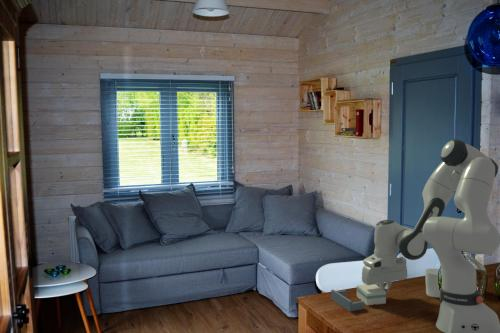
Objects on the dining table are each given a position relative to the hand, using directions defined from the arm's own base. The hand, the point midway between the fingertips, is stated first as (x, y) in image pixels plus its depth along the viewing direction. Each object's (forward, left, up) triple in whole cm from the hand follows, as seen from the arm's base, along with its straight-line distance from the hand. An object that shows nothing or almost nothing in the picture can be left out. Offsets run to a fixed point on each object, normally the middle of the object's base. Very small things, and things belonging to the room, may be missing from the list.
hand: (384, 292), depth 204 cm
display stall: (+12, +14, -2) cm, 18 cm away
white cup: (-18, -12, -2) cm, 21 cm away
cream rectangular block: (+4, +5, -2) cm, 7 cm away
